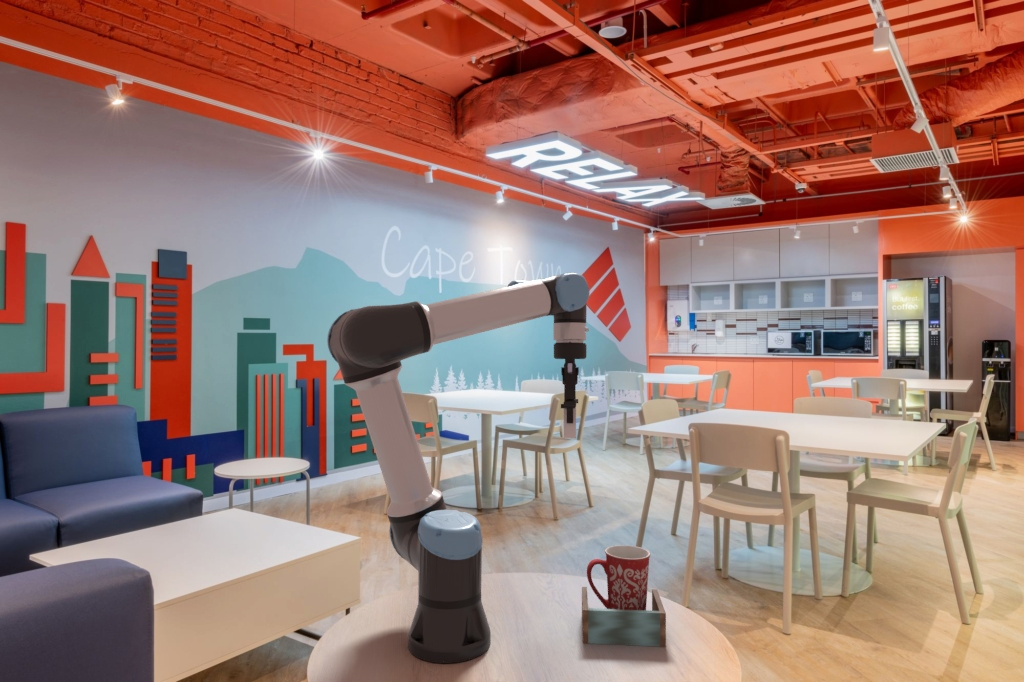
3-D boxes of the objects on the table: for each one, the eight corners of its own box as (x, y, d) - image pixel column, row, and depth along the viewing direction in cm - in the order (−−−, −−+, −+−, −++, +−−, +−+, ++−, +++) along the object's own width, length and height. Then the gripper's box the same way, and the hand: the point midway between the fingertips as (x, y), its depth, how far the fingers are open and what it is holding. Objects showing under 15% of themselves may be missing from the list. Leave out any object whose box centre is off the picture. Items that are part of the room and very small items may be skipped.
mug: (646, 610, 133) (645, 544, 133) (654, 628, 124) (654, 558, 124) (585, 609, 134) (584, 544, 134) (588, 628, 125) (588, 558, 125)
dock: (582, 643, 118) (582, 610, 118) (581, 616, 130) (581, 586, 130) (665, 646, 117) (665, 613, 117) (657, 619, 129) (657, 589, 129)
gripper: (587, 340, 135) (587, 441, 135) (585, 343, 160) (585, 428, 160) (551, 340, 136) (551, 441, 135) (555, 343, 161) (555, 428, 160)
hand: (570, 434), depth 147 cm, fingers open, 13 cm apart
